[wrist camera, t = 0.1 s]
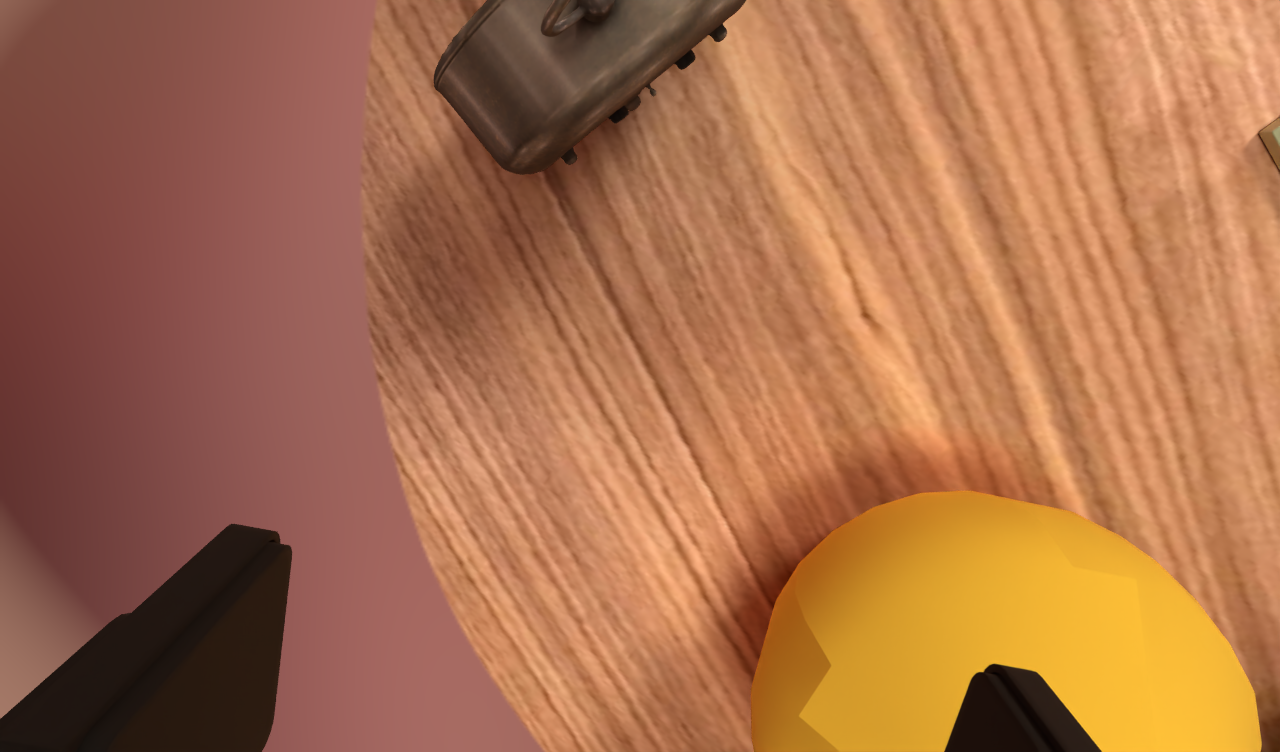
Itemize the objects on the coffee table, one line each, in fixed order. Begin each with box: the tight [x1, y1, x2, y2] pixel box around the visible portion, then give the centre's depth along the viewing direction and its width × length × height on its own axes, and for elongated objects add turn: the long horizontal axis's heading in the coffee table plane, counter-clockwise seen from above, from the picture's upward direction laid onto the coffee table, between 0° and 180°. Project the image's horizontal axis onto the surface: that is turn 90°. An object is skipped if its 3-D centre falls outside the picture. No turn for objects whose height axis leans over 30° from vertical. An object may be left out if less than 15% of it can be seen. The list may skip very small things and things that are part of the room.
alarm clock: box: [434, 0, 746, 175], centre depth 25 cm, size 11×5×16 cm, turn 128°
